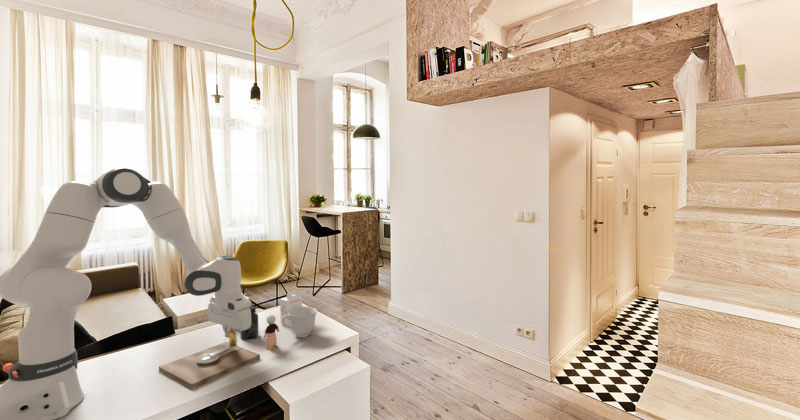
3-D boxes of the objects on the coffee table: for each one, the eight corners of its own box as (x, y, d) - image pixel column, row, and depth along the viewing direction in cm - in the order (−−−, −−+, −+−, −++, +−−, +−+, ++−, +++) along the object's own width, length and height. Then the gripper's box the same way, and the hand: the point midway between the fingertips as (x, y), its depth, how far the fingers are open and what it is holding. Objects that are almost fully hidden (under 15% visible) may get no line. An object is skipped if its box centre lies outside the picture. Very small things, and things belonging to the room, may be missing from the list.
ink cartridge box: (295, 319, 172) (294, 287, 171) (302, 321, 170) (302, 289, 169) (280, 324, 165) (279, 292, 164) (287, 327, 162) (287, 293, 161)
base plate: (191, 389, 112) (191, 383, 112) (159, 371, 123) (158, 366, 123) (259, 358, 132) (259, 354, 132) (226, 345, 143) (226, 341, 143)
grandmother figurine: (272, 343, 145) (271, 311, 145) (281, 344, 145) (280, 312, 144) (260, 351, 138) (260, 318, 137) (270, 352, 137) (269, 319, 136)
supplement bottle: (238, 336, 152) (237, 307, 151) (255, 332, 156) (255, 304, 156) (243, 341, 147) (242, 311, 146) (260, 337, 151) (260, 308, 150)
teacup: (276, 335, 153) (275, 311, 152) (309, 327, 162) (309, 304, 162) (288, 345, 144) (288, 320, 143) (322, 335, 153) (322, 311, 153)
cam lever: (205, 366, 122) (205, 347, 122) (191, 362, 125) (191, 343, 125) (241, 349, 136) (241, 331, 135) (228, 345, 139) (227, 328, 138)
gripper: (202, 297, 138) (203, 334, 139) (239, 307, 128) (239, 346, 129) (217, 293, 144) (218, 328, 145) (254, 302, 134) (254, 339, 135)
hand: (228, 337), depth 137 cm, fingers closed
